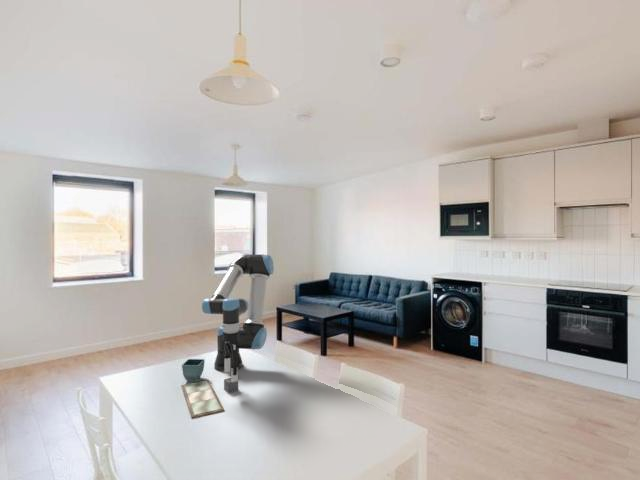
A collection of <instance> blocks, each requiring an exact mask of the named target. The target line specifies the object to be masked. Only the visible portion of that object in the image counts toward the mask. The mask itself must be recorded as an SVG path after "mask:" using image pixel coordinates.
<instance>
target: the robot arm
mask: <svg viewBox="0 0 640 480" xmlns="http://www.w3.org/2000/svg"><path fill="white" fill-rule="evenodd" d="M274 267H275V266H274V261H273V258H272V256H271V255H270V254H264V253H263V254H262V253H261V254H248V253H247V254H242V255H240V256H238V257H237V258H235V259H234V260H232V261H231V263H230V264H229V265H228V266H227V271H226V273H225V274H224V277H223V278H222V280H221V281H220V283H219V284H218V286H217V288H216V290H215V291H214V293H213V294H212V296H211V298H210V297H209V298H205V299H203V301H202V304H201V309H202V312H203V313H204V314H207V315H209V314H210V315H222V325H221V326H219V327H218V328H217V334H216V336H217V353H216V354H217V355H216V357H215V361H214V366H213V367H214V369H215V370H216V371H220V372H224V373H230V372H231V373H230V374H231V376H230V378H231V382H236V381H238V382H239V379H238V376H239V375H238V372H239V371H238V370H239V369H241V368H242V366H243V359H242V356H241V354H240V350H243V349H244V350H245V349H246V350H261V349H262V348H263V347H264V346H265V343H266V341H267V335H268V334H267V333H268V330H267V327H265V324H264V322H263V316H264V315H263V313H264V306H265V304H264V303H265V295H266V286H267V280H269V279H270V276H271V275H273V274H274ZM243 275H249V277H250V279H251V281H250V282H251V283H250V287H249V288H250V289H249V296H248V297H249V298H248V300H247V299H246V298H242V297H241V298H237V297H230V295H231V293H232V291H234V288H235V287H236V285H237V282H238V281H239V279H240V278H241V277H243ZM246 312H247V313H246ZM245 313H246V319H245V321H244V322H243V324H242V326H240V316H241V315H243V314H245Z"/></svg>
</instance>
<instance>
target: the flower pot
mask: <svg viewBox="0 0 640 480" xmlns="http://www.w3.org/2000/svg"><path fill="white" fill-rule="evenodd" d="M204 368H205V358H204V359H202V358H201V359H200V358H199V359H198V358H188V359H187V360H186V361H184V362H183V364H181V370H182V375H183V378H184V380H185V381H186V382H198V381H199V379H200V378H201V376H202V375H203V372H204V370H205V369H204Z"/></svg>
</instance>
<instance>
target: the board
mask: <svg viewBox="0 0 640 480" xmlns="http://www.w3.org/2000/svg"><path fill="white" fill-rule="evenodd" d="M181 390H182V392H183V395H184V399H185V402H186V405H187V409H188V412H189V414H190V418H191V419H195V418H200V417H203V416H209V415H212V414H218V413H222V412H225V409H224V406H223V405H222V402H221V400H220V398H219V396H218V395H217V393H216V391H215V389H214V387H213V385H212V383H211V381H210V380H202V381H195V382H191V383H187V384H181Z"/></svg>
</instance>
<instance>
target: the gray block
mask: <svg viewBox="0 0 640 480" xmlns="http://www.w3.org/2000/svg"><path fill="white" fill-rule="evenodd" d="M223 390H224V391H225V392H226V393H227V394H231V393H235V392H238V391H239V380H238V381H236V382H231V377H229V378H224V379H223Z"/></svg>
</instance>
